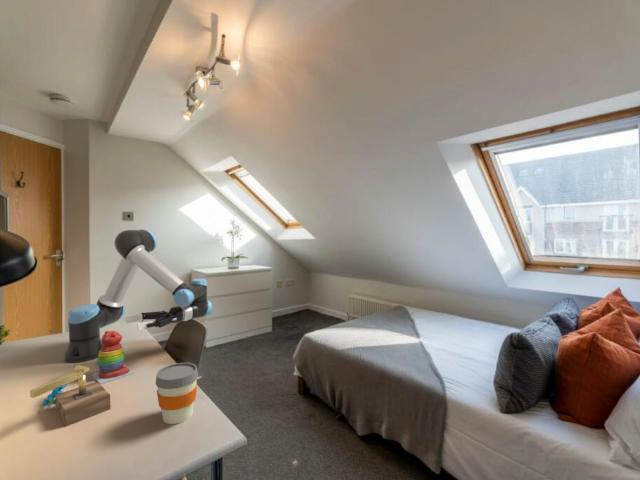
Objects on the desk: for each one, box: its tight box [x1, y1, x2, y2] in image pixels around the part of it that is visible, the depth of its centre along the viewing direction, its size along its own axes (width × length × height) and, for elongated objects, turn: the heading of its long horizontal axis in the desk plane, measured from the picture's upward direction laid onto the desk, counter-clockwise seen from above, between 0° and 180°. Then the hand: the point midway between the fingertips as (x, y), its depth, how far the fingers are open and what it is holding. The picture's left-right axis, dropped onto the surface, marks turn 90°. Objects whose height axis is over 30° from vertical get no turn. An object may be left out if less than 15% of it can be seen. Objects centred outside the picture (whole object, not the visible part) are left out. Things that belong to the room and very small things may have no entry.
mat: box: [90, 363, 135, 385], centre depth 131 cm, size 12×12×1 cm
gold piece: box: [29, 364, 90, 399], centre depth 99 cm, size 15×5×9 cm, turn 160°
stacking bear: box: [96, 330, 131, 378], centre depth 130 cm, size 11×10×18 cm
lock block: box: [54, 381, 112, 427], centre depth 105 cm, size 14×12×5 cm
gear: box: [41, 384, 67, 407], centre depth 110 cm, size 11×6×10 cm
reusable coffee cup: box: [155, 362, 199, 425], centre depth 102 cm, size 13×12×15 cm
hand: (131, 323), depth 135 cm, fingers open, 13 cm apart
